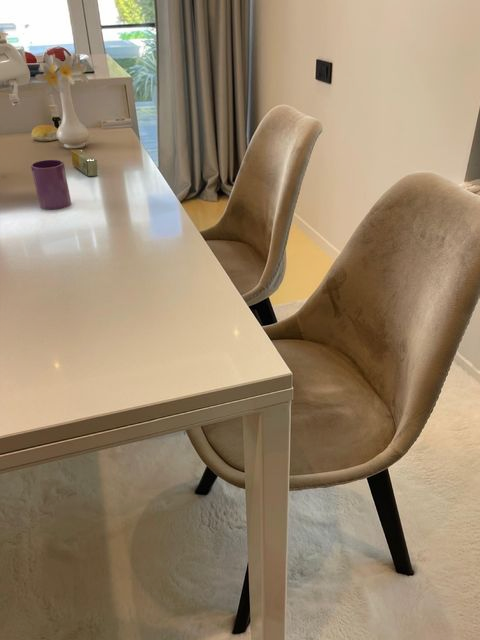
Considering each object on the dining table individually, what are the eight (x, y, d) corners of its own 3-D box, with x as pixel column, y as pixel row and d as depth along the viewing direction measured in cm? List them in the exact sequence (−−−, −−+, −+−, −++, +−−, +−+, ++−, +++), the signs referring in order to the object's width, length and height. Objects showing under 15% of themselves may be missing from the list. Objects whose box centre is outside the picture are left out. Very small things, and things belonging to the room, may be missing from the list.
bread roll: (50, 134, 181) (47, 121, 178) (66, 138, 176) (63, 125, 174) (26, 138, 175) (23, 125, 173) (42, 143, 171) (39, 129, 168)
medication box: (98, 176, 144) (97, 160, 142) (88, 176, 142) (87, 160, 140) (81, 164, 152) (80, 148, 150) (71, 164, 150) (70, 149, 148)
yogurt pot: (46, 211, 122) (37, 170, 117) (35, 203, 126) (26, 163, 121) (76, 205, 126) (68, 164, 121) (64, 197, 130) (56, 157, 125)
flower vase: (47, 155, 159) (26, 57, 145) (59, 139, 175) (41, 49, 160) (93, 154, 161) (77, 56, 147) (101, 138, 176) (88, 48, 162)
